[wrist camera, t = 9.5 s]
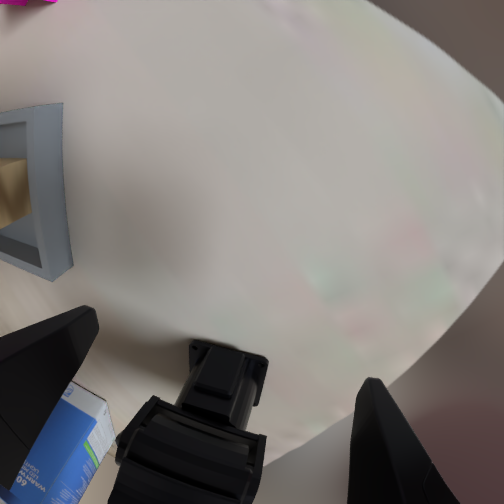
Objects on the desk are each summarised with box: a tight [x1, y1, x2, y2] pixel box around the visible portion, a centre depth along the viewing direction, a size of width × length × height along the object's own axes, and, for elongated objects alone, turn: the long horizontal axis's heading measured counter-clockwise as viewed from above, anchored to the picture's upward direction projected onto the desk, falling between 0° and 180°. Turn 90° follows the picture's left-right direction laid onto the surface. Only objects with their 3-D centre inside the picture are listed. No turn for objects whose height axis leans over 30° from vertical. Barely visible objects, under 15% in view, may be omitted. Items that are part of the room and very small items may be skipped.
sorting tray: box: [0, 103, 74, 282], centre depth 20 cm, size 14×14×3 cm
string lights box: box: [0, 381, 115, 504], centre depth 26 cm, size 13×8×26 cm, turn 166°
